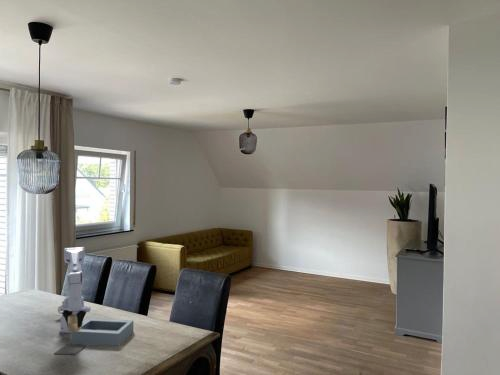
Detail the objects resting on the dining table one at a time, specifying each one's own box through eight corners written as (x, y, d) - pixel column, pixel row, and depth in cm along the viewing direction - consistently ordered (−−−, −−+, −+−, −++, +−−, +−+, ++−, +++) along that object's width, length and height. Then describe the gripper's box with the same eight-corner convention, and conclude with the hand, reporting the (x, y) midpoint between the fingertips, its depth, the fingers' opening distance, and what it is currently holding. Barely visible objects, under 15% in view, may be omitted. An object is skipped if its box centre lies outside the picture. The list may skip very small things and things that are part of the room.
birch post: (67, 331, 179) (67, 316, 179) (72, 328, 183) (73, 313, 183) (76, 331, 178) (77, 316, 178) (81, 328, 183) (82, 313, 183)
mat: (53, 354, 175) (53, 353, 175) (66, 345, 185) (66, 344, 185) (74, 355, 174) (74, 354, 174) (86, 346, 184) (86, 345, 184)
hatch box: (70, 343, 186) (71, 331, 186) (89, 329, 204) (89, 318, 204) (118, 346, 184) (118, 333, 184) (133, 331, 202) (133, 320, 202)
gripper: (55, 299, 177) (54, 328, 177) (85, 300, 176) (84, 330, 176) (63, 295, 184) (63, 323, 184) (92, 296, 183) (92, 324, 183)
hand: (74, 326), depth 181 cm, fingers closed on birch post, 4 cm apart
